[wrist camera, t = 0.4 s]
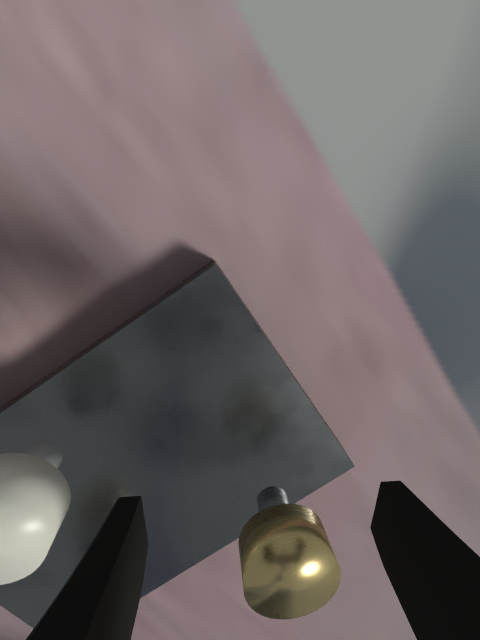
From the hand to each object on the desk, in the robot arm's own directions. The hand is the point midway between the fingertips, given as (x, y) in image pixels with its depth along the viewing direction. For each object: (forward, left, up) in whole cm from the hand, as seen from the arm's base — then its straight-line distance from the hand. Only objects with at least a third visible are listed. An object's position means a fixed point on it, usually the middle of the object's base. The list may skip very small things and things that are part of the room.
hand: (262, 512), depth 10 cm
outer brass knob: (-2, -6, -6) cm, 8 cm away
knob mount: (-9, -2, -10) cm, 14 cm away
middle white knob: (-9, +3, -6) cm, 11 cm away
